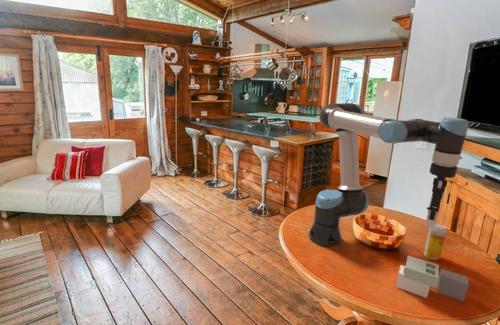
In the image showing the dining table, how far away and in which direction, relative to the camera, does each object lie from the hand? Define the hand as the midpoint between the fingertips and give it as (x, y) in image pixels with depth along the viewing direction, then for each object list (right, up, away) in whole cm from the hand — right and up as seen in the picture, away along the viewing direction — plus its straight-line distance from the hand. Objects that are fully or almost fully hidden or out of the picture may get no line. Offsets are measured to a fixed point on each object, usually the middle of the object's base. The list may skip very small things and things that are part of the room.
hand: (430, 220), depth 103 cm
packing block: (+8, -27, +1) cm, 28 cm away
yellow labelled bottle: (+15, -21, +23) cm, 35 cm away
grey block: (-3, -20, +1) cm, 21 cm away
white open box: (-5, -26, +3) cm, 26 cm away
